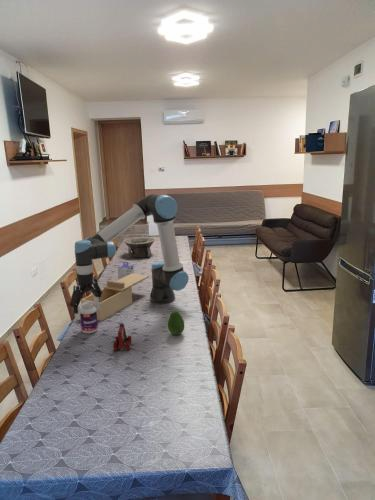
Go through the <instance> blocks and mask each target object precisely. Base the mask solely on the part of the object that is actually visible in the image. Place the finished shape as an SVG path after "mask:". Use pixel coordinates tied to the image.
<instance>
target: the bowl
mask: <svg viewBox="0 0 375 500" xmlns="http://www.w3.org/2000/svg"><path fill="white" fill-rule="evenodd" d="M155 240H156V238H154V237H149V236H147V237H146V236H144V237H143V236H139V237H130V238H127V239H124V241H123V242H124V243H125V245H126V246H128V249H127V252H128V256H130V257H131V258H141V259H142V258H150V257H152V250H151V246H152V245H153V244H154V242H155Z"/></svg>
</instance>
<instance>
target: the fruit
mask: <svg viewBox="0 0 375 500" xmlns="http://www.w3.org/2000/svg"><path fill="white" fill-rule="evenodd" d="M167 329H168V332H169V333H170V334H172V335H174V336H179V335H182V333H184V329H185V321H184V318H183V317H182V315H181V313H180V312H179V310H173V311H172V312H170V314H169V318H168V320H167Z"/></svg>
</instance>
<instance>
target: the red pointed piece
mask: <svg viewBox="0 0 375 500" xmlns="http://www.w3.org/2000/svg"><path fill="white" fill-rule="evenodd" d="M117 331H118V332H117V336H115V341H114V342H113V351H114V352H116V351H119V350H120V351H122V350H124V348H125V350H126V351H131V350H130V349H131V345H132V342H133V341H132V335H127V334H126V333H127V332H126V328H125V324H124V323H123V322H122V323H120V324H119V328H118V330H117Z"/></svg>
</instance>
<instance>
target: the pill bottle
mask: <svg viewBox="0 0 375 500" xmlns="http://www.w3.org/2000/svg"><path fill="white" fill-rule="evenodd" d="M80 318H81V319H80V320H79V321H80V329H81V332H82V333H84V334H92V333H95V332H97V330H98V328H99V325H98V320H97V309H96V308H95V307H94V304H93V302H84V303H82V306H81V308H80Z"/></svg>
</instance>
